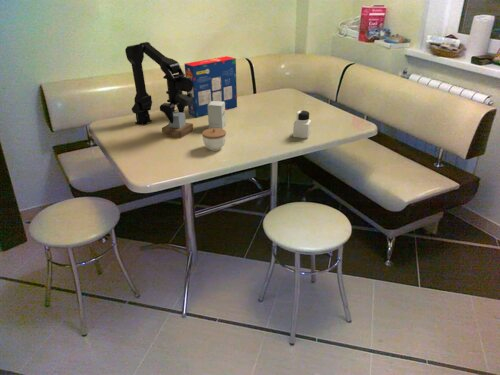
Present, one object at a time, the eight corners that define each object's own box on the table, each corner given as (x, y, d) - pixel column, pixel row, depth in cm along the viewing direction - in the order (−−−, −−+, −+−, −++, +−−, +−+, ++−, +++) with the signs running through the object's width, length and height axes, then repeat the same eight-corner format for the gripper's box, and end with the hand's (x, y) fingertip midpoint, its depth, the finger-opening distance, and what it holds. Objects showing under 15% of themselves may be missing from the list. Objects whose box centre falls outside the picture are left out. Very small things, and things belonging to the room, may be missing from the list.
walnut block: (162, 135, 205) (161, 127, 203) (175, 128, 213) (174, 120, 211) (181, 138, 200) (180, 131, 199) (193, 131, 209) (192, 123, 207)
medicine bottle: (310, 133, 203) (312, 110, 197) (307, 138, 197) (308, 114, 192) (296, 132, 205) (297, 108, 200) (292, 137, 199) (293, 113, 194)
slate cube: (169, 126, 204) (167, 115, 201) (175, 122, 208) (174, 111, 206) (179, 128, 202) (178, 116, 199) (185, 124, 207) (184, 112, 204)
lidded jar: (229, 151, 186) (228, 131, 181) (205, 154, 183) (204, 134, 179) (223, 142, 195) (222, 123, 190) (201, 145, 192) (199, 126, 188)
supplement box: (222, 129, 209) (221, 105, 203) (208, 129, 210) (206, 105, 204) (226, 124, 215) (225, 101, 209) (212, 124, 217) (211, 100, 211)
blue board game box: (228, 104, 246) (227, 56, 233) (237, 107, 241) (235, 58, 227) (188, 114, 231) (184, 63, 217) (196, 117, 226) (192, 66, 212)
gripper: (178, 95, 186) (181, 128, 193) (198, 85, 201) (200, 116, 208) (157, 93, 189) (161, 125, 197) (178, 83, 205) (181, 113, 212)
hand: (176, 120), depth 204 cm, fingers open, 9 cm apart
